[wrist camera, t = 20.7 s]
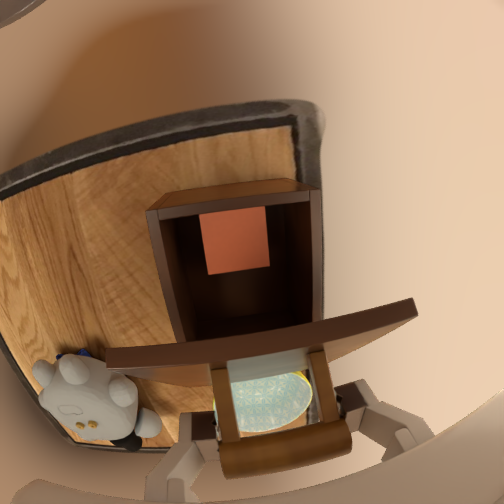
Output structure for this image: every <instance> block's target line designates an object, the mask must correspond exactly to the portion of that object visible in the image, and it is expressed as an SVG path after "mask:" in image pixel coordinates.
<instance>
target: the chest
mask: <svg viewBox="0 0 504 504" xmlns="http://www.w3.org/2000/svg"><path fill="white" fill-rule="evenodd" d="M261 206H265V214H266V225H267V237H268V249H269V262H270V266H267V267H260V268H253V269H246V270H239V271H232V272H225V273H218V274H211V275H209V274H208V269H207V263H206V257H205V251H204V245H203V239H202V232H201V226H200V219H199V215H200V214H207V213H214V212H222V211H229V210H237V209H245V208H253V207H261ZM145 212H146V217H147V223H148V228H149V233H150V238H151V243H152V248H153V253H154V257H155V262H156V266H157V270H158V275H159V279H160V283H161V287H162V291H163V295H164V299H165V303H166V306H167V310H168V314H169V317H170V321H171V324H172V328H173V331H174V335H175V338H176V341H177V343H181V342H191V341H199V340H207V339H215V338H223V337H230V336H237V335H243V334H250V333H256V332H262V331H268V330H274V329H279V328H285V327H290V326H295V325H301V324H306V323H310V322H315V321H320V320H321V304H322V228H321V199H320V189H318V188H315V187H312V186H309V185H306V184H303V183H300V182H297V181H294V180H291V179H288V178H280V179H270V180H260V181H250V182H241V183H233V184H225V185H217V186H210V187H203V188H196V189H189V190H182V191H176V192H170V193H166V194H164V195H163V196H162V197H161V198H160V199H159V200H158V201H156V202H155V203H154V204H153V205H152V206H151V207H150V208H148V209H147V210H146V211H145Z"/></svg>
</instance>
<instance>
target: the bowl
mask: <svg viewBox="0 0 504 504" xmlns="http://www.w3.org/2000/svg"><path fill="white" fill-rule="evenodd" d="M231 388H232V394H233V400H234V405H235V411H236V416H237V422H238V427H239V431H244V432H262V431H268V430H273V429H276V428H279V427H282V426H284V425H286V424H288V423H290V422H292V421H293V420H295V419H296V418H298V417H299V416H300V415H301V414H302V413H303V412H304V411H305V410H306V409H307V407H308V406H309V404H310V402H311V399H312V388H311V386H310V384H309V382H308V380H307V379H306V377H305V376H304V375H303V374H302V373H301V372H300V371H296V372H292V373H287V374H282V375H276V376H271V377H266V378H260V379H254V380H248V381H241V382H234V383H231ZM213 411H216V405H215V399H214V397H213ZM216 413H217V411H216ZM217 419H218V417H217Z"/></svg>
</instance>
